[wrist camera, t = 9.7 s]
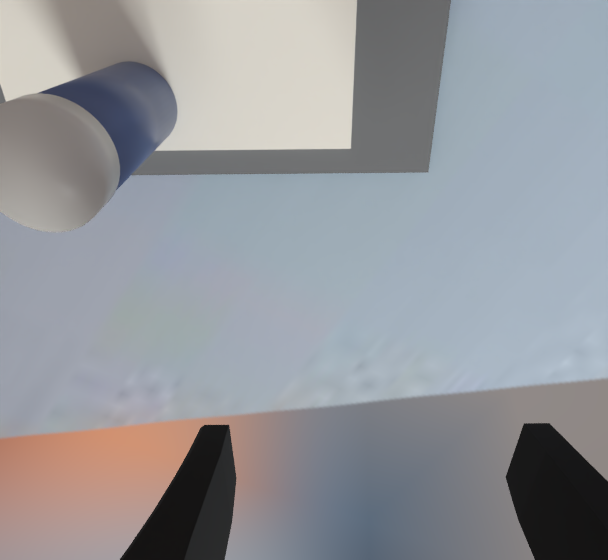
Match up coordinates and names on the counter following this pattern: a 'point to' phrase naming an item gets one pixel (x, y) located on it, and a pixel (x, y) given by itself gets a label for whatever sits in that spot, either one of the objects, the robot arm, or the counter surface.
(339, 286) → the counter surface
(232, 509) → the robot arm
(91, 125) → the marker
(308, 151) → the desk mat
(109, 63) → the paper
